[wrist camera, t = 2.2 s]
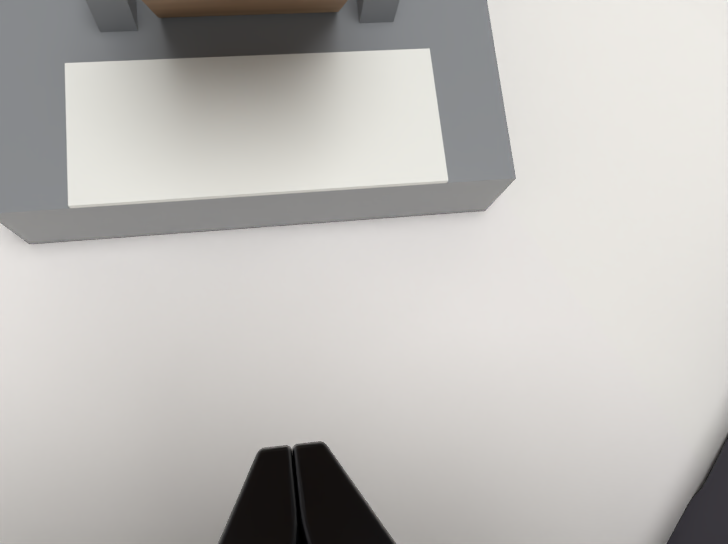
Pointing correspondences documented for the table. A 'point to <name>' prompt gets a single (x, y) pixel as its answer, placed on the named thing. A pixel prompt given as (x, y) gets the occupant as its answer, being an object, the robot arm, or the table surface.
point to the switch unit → (244, 117)
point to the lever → (239, 7)
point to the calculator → (707, 509)
